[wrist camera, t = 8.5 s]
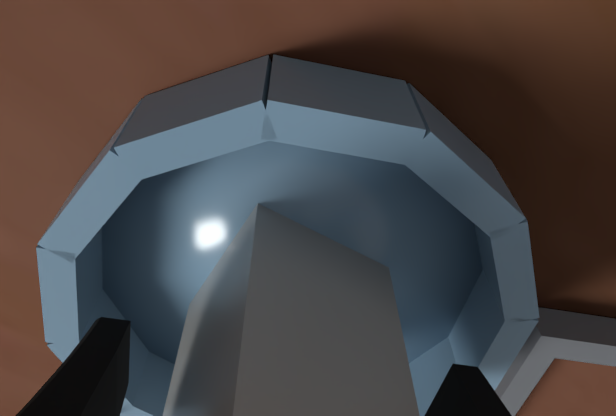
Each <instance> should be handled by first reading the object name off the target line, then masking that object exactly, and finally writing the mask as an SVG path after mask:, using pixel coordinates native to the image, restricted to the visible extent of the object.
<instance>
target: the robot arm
mask: <svg viewBox="0 0 616 416" xmlns="http://www.w3.org/2000/svg"><path fill="white" fill-rule="evenodd" d="M130 327H131V321H129V320H121V319H114V318H106V317H100V318H98V319H97V320H95V322H94V323H93V325H92V326H91V327H90V329H89V330H88V332H87V333H86V334H85V336H84V337H83V338H82V340H81V341H80V342H79V343H78V345H77V346H76V347H75V349H74V350H73V351H72V352H71V354H70V355H69V356H68V357H67V358H66V360H65V361H64V362H63V363H62V364H61V366H60V367H59V368H58V369H57V370H56V372H55V373H54V374H53V375H52V376H51V377H50V378H49V380H48V381H47V382H46V383H45V384H44V385H43V386H42V387H41V389H40V390H39V391H38V392H37V393H36V394H35V395H34V396H33V398H32V399H31V400H30V401H29V402H28V403H27V404H26V405H25V406H24V407H23V408H22V410H21V411H20V412H19V413H18V414H17V415H16V416H120V413H121V410H122V406H123V402H124V399H125V395H126V391H127V387H128V383H129V359H130ZM425 416H512V415H511V414H510V412H509V411H508V410H507V408H506V407H505V405H504V404H503V402H502V401H501V399H500V398H499V396H498V395H497V394H496V392H495V391H494V389H493V388H492V386H491V385H490V383H489V382H488V380H487V379H486V378H485V376H484V375H483V373H482V372H481V371H480V369H479V368H478V367H475V366H468V365H460V364H452V366H451V367H450V369H449V371H448V373H447V375H446V377H445V379H444V380H443V382H442V384H441V386H440V388H439V390H438V392H437V393H436V395H435V397H434V399H433V401H432V403H431V405H430V406H429V408H428V410H427V412H426V414H425Z"/></svg>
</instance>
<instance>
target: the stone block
mask: <svg viewBox="0 0 616 416" xmlns="http://www.w3.org/2000/svg"><path fill="white" fill-rule="evenodd" d="M163 416H420V415H419V410H418V405H417V400H416V396H415V391H414V386H413V381H412V376H411V372H410V367H409V362H408V357H407V352H406V348H405V343H404V338H403V333H402V328H401V323H400V319H399V314H398V309H397V304H396V299H395V295H394V290H393V285H392V280H391V275H390V271H389V267H387V266H385V265H383V264H381V263H379V262H377V261H374V260H372V259H370V258H368V257H366V256H364V255H362V254H360V253H358V252H356V251H354V250H352V249H350V248H348V247H346V246H344V245H342V244H340V243H338V242H336V241H334V240H332V239H330V238H328V237H326V236H324V235H321V234H319V233H317V232H315V231H313V230H311V229H309V228H307V227H305V226H303V225H301V224H299V223H297V222H295V221H293V220H291V219H289V218H287V217H285V216H283V215H281V214H279V213H277V212H275V211H273V210H271V209H268V208H266V207H264V206H262V205H260V204H257V205H256V207H255V208H254V209H253V211H252V212H251V214H250V215H249V217H248V218H247V220H246V221H245V223H244V224H243V226H242V227H241V229H240V230H239V232H238V233H237V235H236V236H235V238H234V239H233V240H232V242H231V243H230V245H229V246H228V248H227V249H226V251H225V252H224V254H223V255H222V257H221V258H220V260H219V261H218V263H217V264H216V266H215V267H214V269H213V270H212V272H211V273H210V274H209V276H208V277H207V279H206V280H205V282H204V283H203V285H202V286H201V288H200V289H199V291H198V292H197V294H196V295H195V297H194V298H193V300H192V301H191V303H190V304H189V307H188V312H187V316H186V320H185V324H184V328H183V332H182V337H181V341H180V345H179V349H178V353H177V357H176V362H175V366H174V370H173V374H172V378H171V382H170V387H169V391H168V395H167V399H166V403H165V407H164V412H163Z"/></svg>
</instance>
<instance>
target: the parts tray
mask: <svg viewBox="0 0 616 416" xmlns="http://www.w3.org/2000/svg"><path fill="white" fill-rule="evenodd" d="M538 310H539V318H537V319H538V323H537V325H536V326H535V328H534V329H533V331H532V332H531V334H530V336H529V337H528V339H527V340H526V342H525V344H524V345H523V347H522V348H521V350H520V351H519V353H518V355H517V356H516V358H515V359H514V361H513V363H512V364H511V366H510V367H509V369H508V370H507V372H506V374H505V375H504V377H503V378H502V380H501V382H500V383H499V385H498V386H497V388H496V389H495V392H496V394H497V395H498V396H499V398H500V399H501V401H502V402H503V404H504V405H505V407H506V408H507V410H508V411H509V412H510V414H511V415H512V416H515V415H516V413H517V412H518V410H519V409H520V407H521V406H522V404H523V403H524V402H525V400H526V399H527V397H528V396H529V394H530V393H531V391H532V390H533V389H534V387H535V386H536V384H537V383H538V381H539V380H540V378H541V377H542V376H543V374H544V373H545V371H546V370H547V368H548V367H549V365H550V364H551V363H552V361H553V360H554V358H558V359H565V360H572V361H580V362H587V363H594V364H601V365H609V366H616V319H614V318H608V317H601V316H594V315H588V314H581V313H574V312H568V311H561V310H554V309H548V308H541V307H538Z"/></svg>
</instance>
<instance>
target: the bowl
mask: <svg viewBox="0 0 616 416" xmlns="http://www.w3.org/2000/svg"><path fill="white" fill-rule="evenodd" d="M257 204H260V205H262V206H264V207H266V208H268V209H271V210H273V211H275V212H277V213H279V214H281V215H283V216H285V217H287V218H289V219H291V220H293V221H295V222H297V223H299V224H301V225H303V226H305V227H307V228H309V229H311V230H313V231H315V232H317V233H319V234H321V235H324V236H326V237H328V238H330V239H332V240H334V241H336V242H338V243H340V244H342V245H344V246H346V247H348V248H350V249H352V250H354V251H356V252H358V253H360V254H362V255H364V256H366V257H368V258H370V259H372V260H374V261H377V262H379V263H381V264H383V265H385V266H387V267H389V271H390V275H391V280H392V285H393V290H394V295H395V299H396V304H397V309H398V314H399V319H400V323H401V328H402V333H403V338H404V343H405V348H406V352H407V357H408V362H409V367H410V372H411V376H412V381H413V386H414V391H415V396H416V400H417V405H418V410H419V415H420V416H425V414H426V412H427V410H428V408H429V406H430V405H431V403H432V401H433V399H434V397H435V395H436V393H437V392H438V390H439V388H440V386H441V384H442V382H443V380H444V379H445V377H446V375H447V373H448V371H449V369H450V367H451V366H452V364H460V365H468V366H475V367H478V368H479V369H480V371H481V372H482V373H483V375H484V376H485V378H486V379H487V380H488V382H489V383H490V385H491V386H492V388H493V389H494V391H495V389H496V388H497V386H498V385H499V383H500V382H501V380H502V378H503V377H504V375H505V374H506V372H507V370H508V369H509V367H510V366H511V364H512V363H513V361H514V359H515V358H516V356H517V355H518V353H519V351H520V350H521V348H522V347H523V345H524V344H525V342H526V340H527V339H528V337H529V336H530V334H531V332H532V331H533V329H534V328H535V326H536V325H537V323H538V319H537V318H539V310H538V302H537V294H536V285H535V277H534V269H533V261H532V253H531V244H530V236H529V228H528V221H527V220H526V218H525V216H524V214H523V213H522V211H521V209H520V208H519V206H518V204H517V202H516V201H515V199H514V197H513V196H512V194H511V192H510V191H509V189H508V187H507V186H506V184H505V182H504V181H503V179H502V177H501V176H500V174H499V172H498V171H497V169H496V167H495V166H494V164H493V162H492V161H491V159H490V158H489V157H487V156H486V155H485V154H484V153H483V152H482V151H481V150H480V149H479V148H478V147H477V146H476V145H475V144H474V143H473V142H472V141H470V140H469V139H468V138H467V137H466V136H465V135H464V134H463V133H462V132H461V131H460V130H459V129H458V128H457V127H456V126H455V125H453V124H452V123H451V122H450V121H449V120H448V119H447V118H446V117H445V116H444V115H443V114H442V113H441V112H440V111H439V110H437V109H436V108H435V107H434V106H433V105H432V104H431V103H430V102H429V101H428V100H427V99H426V98H425V97H424V96H423V95H422V94H420V93H419V92H418V91H417V90H416V89H415V88H414V87H413V86H412V85H411V84H410V83H408V84H406V82H405V81H404V80H399V79H394V78H389V77H384V76H379V75H374V74H369V73H364V72H359V71H354V70H349V69H344V68H339V67H334V66H329V65H324V64H319V63H314V62H309V61H304V60H299V59H294V58H289V57H284V56H279V55H274V54H273V59H272V62H271V60H270V57H269V55H266V56H263V57H260V58H257V59H254V60H251V61H248V62H245V63H242V64H239V65H236V66H233V67H230V68H227V69H224V70H221V71H218V72H215V73H212V74H209V75H206V76H203V77H200V78H197V79H194V80H191V81H188V82H185V83H182V84H179V85H176V86H173V87H170V88H167V89H164V90H161V91H158V92H155V93H152V94H149V95H146V96H145V97H144V99H141V100H140V101H139V102H138V104H137V105H136V106H135V108H134V109H133V110H132V112H131V113H130V114H129V116H128V117H127V118H126V120H125V121H124V122H123V123H122V125H121V126H120V127H119V129H118V130H117V131H116V133H115V134H114V135H113V137H112V138H111V139H110V141H109V142H108V143H107V145H106V146H105V147H104V148H103V150H102V151H101V152H100V154H99V155H98V156H97V158H96V159H95V160H94V162H93V163H92V164H91V166H90V167H89V168H88V169H87V171H86V172H85V173H84V175H83V176H82V177H81V179H80V180H79V181H78V183H77V184H76V186H75V187H74V189H73V190H72V192H71V193H70V195H69V196H68V198H67V199H66V201H65V202H64V204H63V206H62V207H61V209H60V210H59V212H58V213H57V215H56V216H55V218H54V219H53V221H52V222H51V224H50V225H49V227H48V228H47V230H46V232H45V233H44V235H43V236H42V238H41V239H40V241H39V242H38V246H37V247H36V250H37V260H38V271H39V281H40V291H41V302H42V312H43V322H44V332H45V342H48V344H47V346H48V347H49V348H50V349H51V350H52V351H53V353H54V354H55V355H56V356H57V357H58V358H59V359H60V360H61V362H62V363H63V362H64V361H65V360H66V358H67V357H68V356H69V355H70V354H71V352H72V351H73V350H74V349H75V347H76V346H77V345H78V343H79V342H80V341H81V340H82V338H83V337H84V336H85V334H86V333H87V332H88V330H89V329H90V327H91V326H92V325H93V323H94V322H95V320H97V319H98V318H100V317H106V318H114V319H121V320H129V321H131V327H130V359H129V383H128V387H127V391H126V395H125V399H124V402H123V406H122V410H121V413H120V416H163V412H164V407H165V403H166V399H167V395H168V391H169V387H170V382H171V378H172V374H173V370H174V366H175V362H176V357H177V353H178V349H179V345H180V341H181V337H182V332H183V328H184V324H185V320H186V316H187V312H188V307H189V304H190V303H191V301H192V300H193V298H194V297H195V295H196V294H197V292H198V291H199V289H200V288H201V286H202V285H203V283H204V282H205V280H206V279H207V277H208V276H209V274H210V273H211V272H212V270H213V269H214V267H215V266H216V264H217V263H218V261H219V260H220V258H221V257H222V255H223V254H224V252H225V251H226V249H227V248H228V246H229V245H230V243H231V242H232V240H233V239H234V238H235V236H236V235H237V233H238V232H239V230H240V229H241V227H242V226H243V224H244V223H245V221H246V220H247V218H248V217H249V215H250V214H251V212H252V211H253V209H254V208H255V207H256V205H257Z"/></svg>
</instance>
